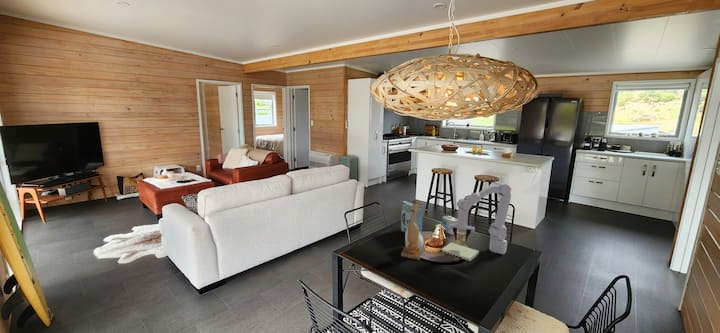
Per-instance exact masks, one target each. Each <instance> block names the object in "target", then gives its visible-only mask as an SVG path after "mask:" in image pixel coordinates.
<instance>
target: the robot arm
mask: <svg viewBox="0 0 720 333" xmlns="http://www.w3.org/2000/svg"><path fill="white" fill-rule="evenodd" d="M511 190H512V188H511V186H510V185H509V184H508V183H507V184H506V183H503V182H500V181H498V180H494V181H493V182H491V183H490V184H489V185H488V186H487V187H484V188H483V189H482V190H480V191H479V192H478V193H477V192H472V193H471V194H470V195H468V196H465V197H464V198H459V199H458V201H457V202H456V206H457V208H458V209H457V219H458V220H457V224H449V228H453V232H454V234H453V236H454V238H455V239H454V240H455V241H456V240H457V229H459V230H465V231H466V232H465V233H466V239H465V243H466V242H467V241H468V239H469V238H468V237H470V234H471V233H472V232H476V228H475V226H471V225H468V219H469V218H468V217H469V210H471V208H472V206H474V205H475V204H477V203H479V202H481V199H482V198H484V197H486V196H488V195H490V194H497V195H498V196H499V198H500V199H499V203H498V206H497V210H496V215H495V219H494V221H493V222H492V223H491V224H490V226H489V228H488V233H489V234H490V235H489V237H490V239H489V240H490V241H489V251H490V252H492V253H496V254H500V255H505V254H506V252H507V248H508V241H507V240H506V238H507V227H506V225H505V223H506V219H507V214H508V211H509V206H510V203H511V200H512V199H511V198H512V194H511Z"/></svg>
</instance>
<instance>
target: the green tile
mask: <svg viewBox="0 0 720 333" xmlns="http://www.w3.org/2000/svg"><path fill="white" fill-rule="evenodd" d="M441 250H442V251H441ZM440 251H441V252H442V253H445V252H446V253H445V254H448V253H449V254H448V255H450V254H452V255H451V256H453V255H455V256H454V257H456V256H458V257H457V258H459V257H461V258H460V259H463V260H465V261H469V262H471V261H472V260H473V259H475V257H477V256H478V255H479V254H480V251H479V250H478V249H474V248H471V247H466V246H465V245H459V244H456V243H454V242H449V243H448V244H447V245H445V246H444V247H442V248H441V249H440Z"/></svg>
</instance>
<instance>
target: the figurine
mask: <svg viewBox="0 0 720 333" xmlns="http://www.w3.org/2000/svg"><path fill="white" fill-rule="evenodd" d="M404 233H405V232H404ZM404 235H405V236H404V238H405V246H406V248H407V247H408V245H409V242H408V228H407V230H406V233H405V234H404ZM423 245H424V237H423V235H421V233H420V232H419V238H418V247H417V249H422V247H423Z"/></svg>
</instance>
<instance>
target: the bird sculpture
mask: <svg viewBox="0 0 720 333" xmlns="http://www.w3.org/2000/svg"><path fill="white" fill-rule="evenodd" d="M414 204H415V205H413V206H411V207H410V209H409V211H414V212H413V214H412V216H411V219H410V221H409V227H408V242H409V245H408V247H407V245H405V246H404V247H403V249H402V251H401V253H400V256H401V257H404V258H409V259H413V260H417V261H418V260H419V261H420V260H421V256H422V253H423V249H422V248H420V249H417V247H418V238H419V228H418V226H417V224H416V223H415V218H416V215H417V213H418V211H419V209H420V207H421V206H420V204H419V203H418V202H415V203H414ZM406 247H407V248H406Z"/></svg>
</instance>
